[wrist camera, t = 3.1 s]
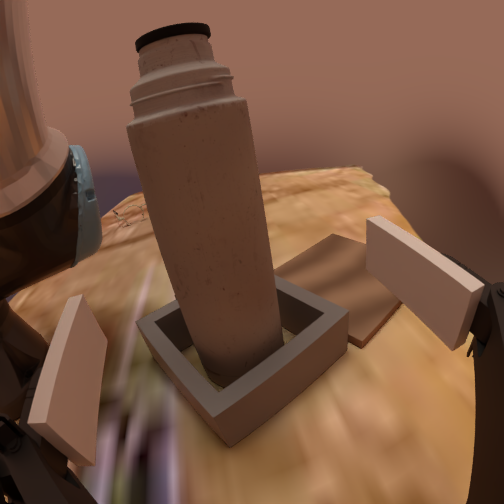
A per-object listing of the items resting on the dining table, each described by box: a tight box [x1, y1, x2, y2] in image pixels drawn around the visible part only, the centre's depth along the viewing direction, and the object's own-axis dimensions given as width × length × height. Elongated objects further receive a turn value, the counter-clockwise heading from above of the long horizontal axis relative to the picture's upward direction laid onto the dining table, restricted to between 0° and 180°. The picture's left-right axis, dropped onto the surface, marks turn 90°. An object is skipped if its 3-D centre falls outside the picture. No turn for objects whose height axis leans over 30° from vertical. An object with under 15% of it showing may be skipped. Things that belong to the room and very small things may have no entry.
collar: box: [136, 275, 349, 447], centre depth 28 cm, size 16×14×5 cm
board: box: [274, 234, 403, 348], centre depth 36 cm, size 16×16×1 cm
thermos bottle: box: [126, 23, 284, 388], centre depth 22 cm, size 8×8×28 cm
